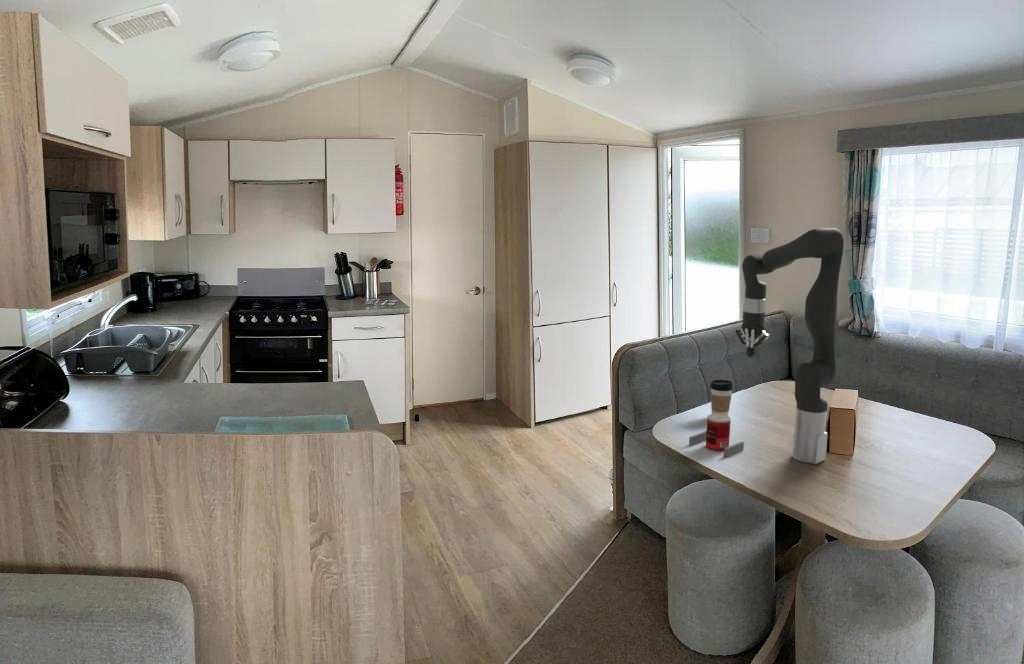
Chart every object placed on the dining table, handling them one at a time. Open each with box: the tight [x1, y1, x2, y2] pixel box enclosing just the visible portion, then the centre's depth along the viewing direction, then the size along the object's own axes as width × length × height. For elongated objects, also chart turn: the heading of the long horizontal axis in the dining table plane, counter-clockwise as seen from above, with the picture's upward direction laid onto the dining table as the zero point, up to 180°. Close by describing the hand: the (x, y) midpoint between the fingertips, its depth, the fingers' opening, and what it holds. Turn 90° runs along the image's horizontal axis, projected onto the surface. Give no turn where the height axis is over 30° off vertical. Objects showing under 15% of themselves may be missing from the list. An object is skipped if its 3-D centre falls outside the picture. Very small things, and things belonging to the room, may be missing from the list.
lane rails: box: [688, 430, 745, 459], centre depth 242 cm, size 15×10×3 cm, turn 40°
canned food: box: [705, 413, 732, 452], centre depth 241 cm, size 8×8×11 cm
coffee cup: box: [709, 379, 734, 416], centre depth 270 cm, size 8×8×15 cm
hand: (750, 356), depth 257 cm, fingers closed
